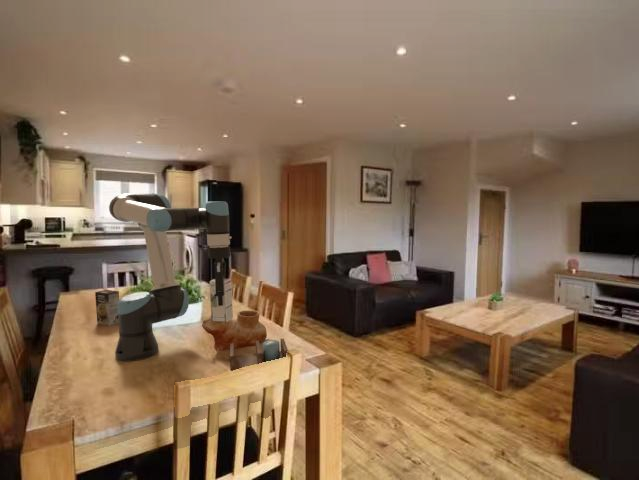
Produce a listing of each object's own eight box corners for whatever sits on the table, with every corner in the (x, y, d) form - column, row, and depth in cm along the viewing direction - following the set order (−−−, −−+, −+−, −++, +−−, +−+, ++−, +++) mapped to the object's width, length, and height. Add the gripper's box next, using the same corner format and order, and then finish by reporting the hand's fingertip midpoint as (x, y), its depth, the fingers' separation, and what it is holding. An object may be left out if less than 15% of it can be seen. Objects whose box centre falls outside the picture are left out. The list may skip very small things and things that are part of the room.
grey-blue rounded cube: (264, 362, 130) (263, 346, 129) (262, 356, 136) (262, 340, 135) (280, 361, 131) (280, 344, 131) (278, 354, 137) (278, 338, 136)
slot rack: (230, 373, 124) (229, 356, 124) (230, 359, 136) (230, 343, 136) (288, 367, 129) (287, 350, 128) (283, 353, 141) (283, 338, 140)
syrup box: (233, 317, 129) (231, 277, 128) (226, 322, 123) (224, 280, 122) (218, 317, 130) (216, 277, 129) (210, 322, 125) (208, 280, 124)
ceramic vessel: (201, 345, 151) (199, 309, 149) (262, 335, 162) (261, 302, 160) (205, 357, 138) (203, 319, 137) (271, 345, 149) (270, 310, 148)
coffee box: (96, 324, 180) (94, 292, 178) (108, 320, 186) (106, 289, 184) (109, 326, 176) (107, 293, 175) (121, 322, 182) (119, 290, 181)
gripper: (228, 248, 116) (231, 318, 118) (231, 243, 135) (234, 303, 137) (204, 249, 114) (207, 320, 116) (210, 244, 134) (213, 304, 136)
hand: (222, 311), depth 127 cm, fingers closed on syrup box, 7 cm apart
